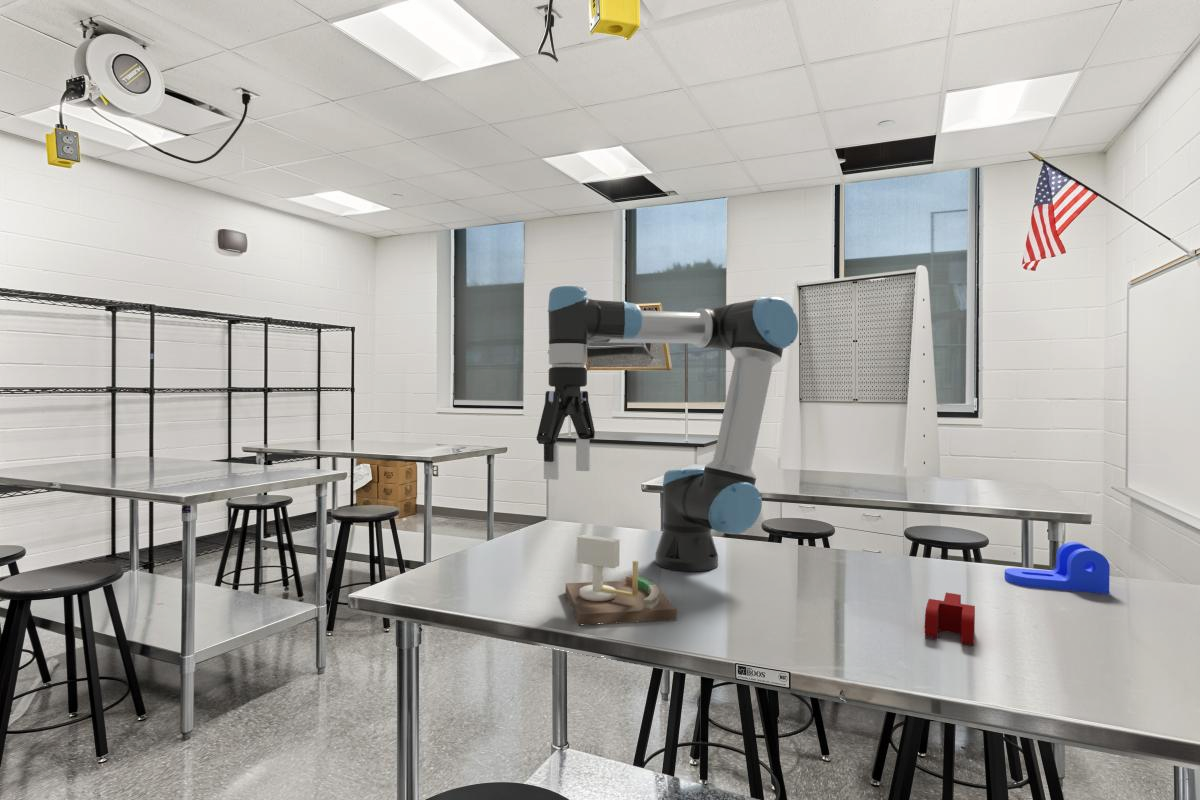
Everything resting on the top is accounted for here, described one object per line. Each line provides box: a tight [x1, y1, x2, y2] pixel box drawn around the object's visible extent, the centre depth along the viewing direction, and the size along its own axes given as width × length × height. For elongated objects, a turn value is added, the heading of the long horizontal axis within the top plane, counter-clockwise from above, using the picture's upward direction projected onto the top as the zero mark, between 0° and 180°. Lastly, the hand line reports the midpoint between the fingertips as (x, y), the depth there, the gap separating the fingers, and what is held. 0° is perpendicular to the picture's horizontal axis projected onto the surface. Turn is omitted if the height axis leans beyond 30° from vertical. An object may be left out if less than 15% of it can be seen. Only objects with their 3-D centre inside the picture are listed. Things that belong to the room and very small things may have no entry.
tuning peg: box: [576, 534, 639, 601], centre depth 121 cm, size 7×12×11 cm, turn 60°
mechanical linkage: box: [924, 592, 976, 647], centre depth 112 cm, size 16×7×5 cm, turn 148°
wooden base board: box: [565, 574, 678, 626], centre depth 123 cm, size 18×18×4 cm
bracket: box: [1004, 541, 1111, 595], centre depth 140 cm, size 18×8×9 cm, turn 72°
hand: (567, 474), depth 125 cm, fingers open, 13 cm apart
